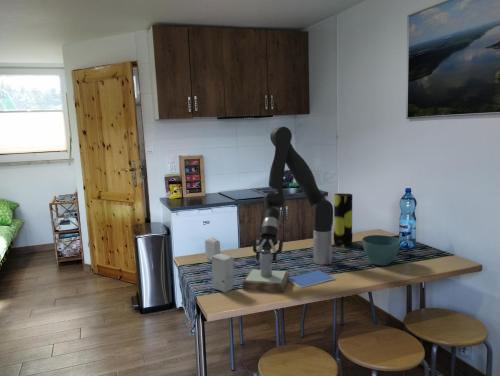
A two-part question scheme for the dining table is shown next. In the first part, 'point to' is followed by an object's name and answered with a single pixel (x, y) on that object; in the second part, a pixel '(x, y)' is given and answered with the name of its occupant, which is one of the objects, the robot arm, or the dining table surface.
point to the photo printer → (211, 247)
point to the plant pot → (380, 248)
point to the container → (343, 219)
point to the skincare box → (222, 272)
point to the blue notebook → (310, 279)
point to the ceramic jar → (265, 262)
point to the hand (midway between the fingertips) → (265, 261)
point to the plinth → (266, 281)
